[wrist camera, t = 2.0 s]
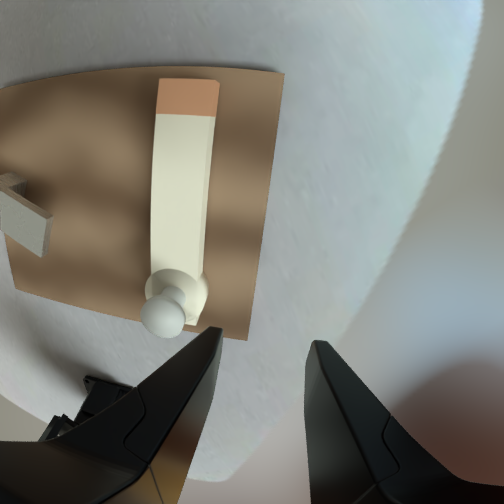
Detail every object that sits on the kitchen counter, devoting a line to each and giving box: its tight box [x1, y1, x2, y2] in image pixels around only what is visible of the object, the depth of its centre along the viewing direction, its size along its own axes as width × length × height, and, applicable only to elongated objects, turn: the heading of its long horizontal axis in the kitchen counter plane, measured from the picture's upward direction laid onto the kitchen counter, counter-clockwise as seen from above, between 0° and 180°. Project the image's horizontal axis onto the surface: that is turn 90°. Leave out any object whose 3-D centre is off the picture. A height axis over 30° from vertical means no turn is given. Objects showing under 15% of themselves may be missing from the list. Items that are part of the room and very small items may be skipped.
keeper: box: [0, 172, 54, 258], centre depth 18 cm, size 3×7×3 cm, turn 63°
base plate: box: [0, 66, 285, 341], centre depth 20 cm, size 18×22×1 cm
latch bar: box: [140, 78, 220, 338], centre depth 17 cm, size 15×4×4 cm, turn 173°
